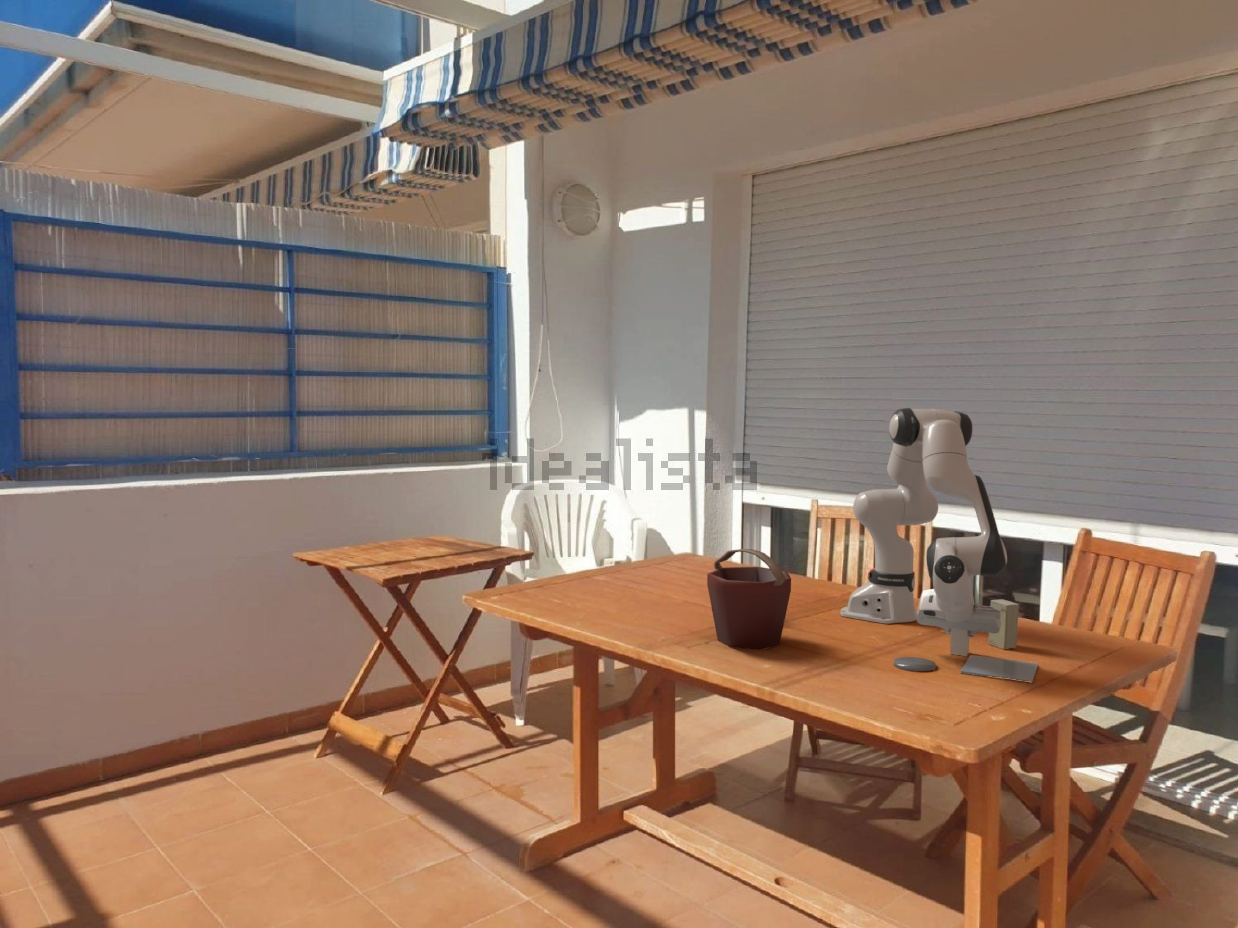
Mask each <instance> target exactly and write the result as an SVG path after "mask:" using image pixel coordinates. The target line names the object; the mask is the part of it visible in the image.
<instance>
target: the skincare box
mask: <svg viewBox="0 0 1238 928" xmlns="http://www.w3.org/2000/svg"><path fill="white" fill-rule="evenodd" d="M989 605H990V607H993V608H995V609H997V610H999V611H1000V614H1001V617H1000V619H1001V627H1000V631H999V632H998V633H988V639H987V643H988V645H991V646H993V647H995V648H999V649H1001V648H1003V649H1002V650H1004V649H1005V650H1010V649H1009V648H1014V649H1017V642H1018V641H1017V640H1018V639H1017V638H1018V627H1019V626H1018V625H1019V609H1020V604H1019V603H1016V602H1013V601H1010V600H1006V599H1001V598H999V599H991V600H990V604H989Z"/></svg>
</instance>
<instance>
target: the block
mask: <svg viewBox="0 0 1238 928" xmlns="http://www.w3.org/2000/svg"><path fill="white" fill-rule="evenodd" d="M969 652H970V637H968V630H962V629H954V628H951V634H950V650H949V653H950V654H949V655H951V654H955V655H954V656H958V655H961V656H960V657H968V655H969ZM967 654H968V655H967Z"/></svg>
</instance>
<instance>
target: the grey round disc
mask: <svg viewBox="0 0 1238 928" xmlns="http://www.w3.org/2000/svg"><path fill="white" fill-rule="evenodd" d="M893 666H894V667H896V668H897V667H898V669H899V670H904V671H909V672H914V671H928V672H932V671H931V670H933V669H935V668H936V669H937V664H936V662H934V661H933V660H930V659H927V658H924V657H917V656H902V657H897V658H894V660H893ZM933 671H934V670H933Z"/></svg>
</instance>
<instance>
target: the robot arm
mask: <svg viewBox="0 0 1238 928" xmlns="http://www.w3.org/2000/svg"><path fill="white" fill-rule="evenodd" d="M888 428H889V429H888V431H889V437H890V439H891V441H893V444H892V448H891V452H890V455H889V459H888V463H887V466H886V471H887V475H888V476H889V478H890V479H891V481H893V482H894V483H896V484H897V485H898V487H897V488H881V489H880V488H879V489H878V488H877V489H876V488H875V489H870V490H866V491H862V492H859V493H858V494H857V495H856V497H855V499H854V500H853V501H854V502H853V505H852V506H853V507H852V508H853V509H852V511H853V514H854V516H855V518H856V520H857V521H858V522H859V523H860V524H861V525H862V526H863V527H864V528H866V529H867V530H868V531H867V532H868V533H869V534H870V536H871V538H872V541H873V547H874V559H875V560H874V564H875V565H874V567H872V568H871V569H870V570H869V571H868V572H867V579H868V580H867V581H866V582H865V583H863V584H862V585H860V587H857V589H855V590H854V591H853V592H852V593H850V596H849V598H848V603H847V605H846V606H844V607H842V608H841V609H840V616H841V617H843V618H844V617H845V618H850V619H855V620H856V619H857V620H863V621H868V622H874V623H881V624H889V625H890V624H897V623H910V622H914V621H916V622H917V623H918V624H919V625H923V626H930V627H936V628H937V627H938V628H941V629H942V630H943V631H945V634H946V635H951V628H954V629H962V630H968V637H969V638H975V635H976V634H977V633H978V632H981V633H988V634H989V633H998V632H999V631H1000V627H1001V619H1000V617H1001V614H1000V611H999V610H997V609H995V608H993V607H990V606H989V605H981V604H975V601H974V595H973V594H974V593H973V591H972V590H973V589H972V587H973V585H972V580H971V576H981V577H996V576H998V575H999V574H1000V573H1002V572H1003V571H1004V570H1005V569H1006V568H1007V563H1008V555H1007V554H1008V553H1007V550H1006V549H1007V548H1006V547H1005V544H1004V542H1003V540H1002V538H1001V536H1000V533H999V530H998V525H997V522H996V519H995V514H994V512H993V507H992V504H991V501H990V498H989V494H988V491H987V489H986V485H985V483H984V481H983V479H982V477H981V476H980V475H977V474H975V473H974V472H973V471H972V470H971V468H970V466H969V462H968V455H967V447H966V446H968V445H969V443H970V441H971V439H972V437H973V436H972V435H973V422H972V419H971V418H970V416H969V415H968V414H966V413H964V412H960V411H957V410H956V411H951V410H946V409H938V408H910V407H905V408H899V409H897V410H896V411H895V412H893V414H892V416H891V418H890V421H889V427H888ZM927 484H928V486H929V487H930V488H932V489H933V490H935V491H936V492H938V493H940V494H942V495H945V496H949V497H953V498H957V499H960V500H962V501H965V502H967V503H969V504H970V505H971V506H972V507H973V508H974V512H975V514H976V518H977V521H978V524H979V529H980V532H981V533H980V535H977V536H961V537H956V536H955V537H954V536H951V537H940V538H938V537H937V538H935V539H934V540H933V541H932V542H931V543H930V545H928V547H927V549H926V555H925V556H926V566H927V572H928V576H929V578H930V579H931V581H932V585H933V586H932V587H933V588H931V589H930V588H929V589H924V590H922V592H921V594H920V597H919V601H918V607H917V611H916V605H915V597H914V596H915V594H914V591H915V588H916V587H915V586H916V577H915V576H916V575H915V572H914V559H915V558H914V553H915V550H914V547H913V545H912V543H911V542H910V541H909V540H907V539H906V538H903V537H901V536H900V535H899V533H898V526H919V525H923V524H927V523H931V522H932V521H934V520H935V518H936V517H937V515H938V511H939V502H938V499H937V497H936V495H935V494H934V493H933V492H932V491H930V490H929V488H928V486H927Z"/></svg>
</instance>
